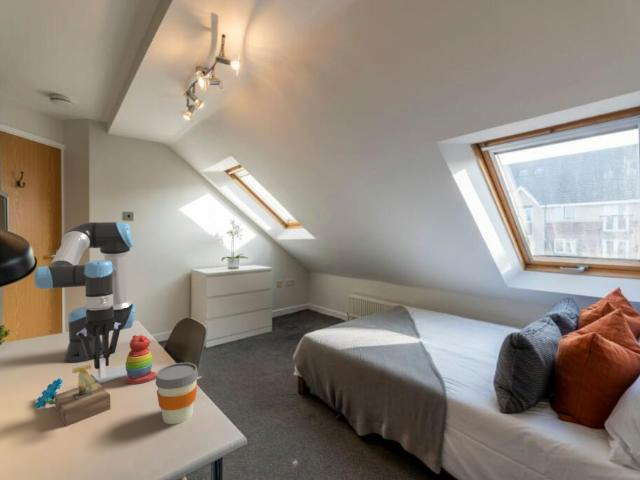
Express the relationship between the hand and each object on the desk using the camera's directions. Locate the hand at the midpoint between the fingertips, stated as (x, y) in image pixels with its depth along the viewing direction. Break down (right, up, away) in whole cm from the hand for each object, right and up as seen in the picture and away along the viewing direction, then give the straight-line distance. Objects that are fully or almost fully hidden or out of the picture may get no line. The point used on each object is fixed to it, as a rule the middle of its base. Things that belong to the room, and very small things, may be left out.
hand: (101, 376), depth 105 cm
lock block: (-7, -11, +1) cm, 13 cm away
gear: (-21, -12, +4) cm, 24 cm away
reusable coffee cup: (+27, -12, -2) cm, 29 cm away
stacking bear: (0, -11, +22) cm, 25 cm away
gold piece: (-2, -6, -4) cm, 7 cm away
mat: (-14, -10, +26) cm, 31 cm away
